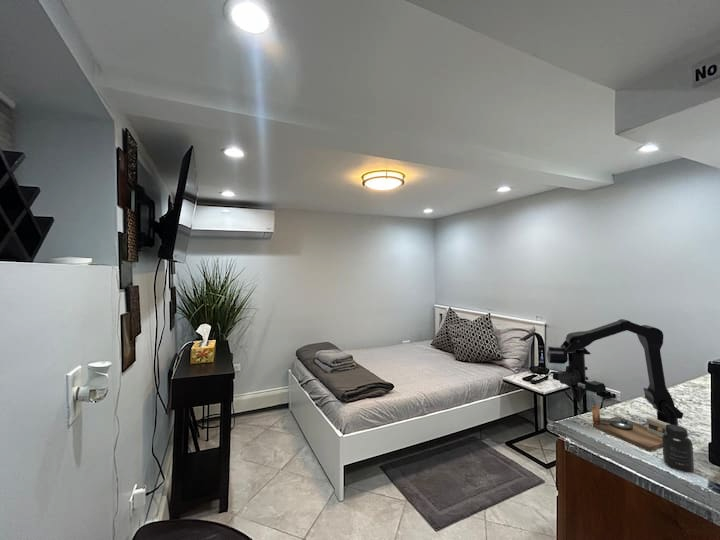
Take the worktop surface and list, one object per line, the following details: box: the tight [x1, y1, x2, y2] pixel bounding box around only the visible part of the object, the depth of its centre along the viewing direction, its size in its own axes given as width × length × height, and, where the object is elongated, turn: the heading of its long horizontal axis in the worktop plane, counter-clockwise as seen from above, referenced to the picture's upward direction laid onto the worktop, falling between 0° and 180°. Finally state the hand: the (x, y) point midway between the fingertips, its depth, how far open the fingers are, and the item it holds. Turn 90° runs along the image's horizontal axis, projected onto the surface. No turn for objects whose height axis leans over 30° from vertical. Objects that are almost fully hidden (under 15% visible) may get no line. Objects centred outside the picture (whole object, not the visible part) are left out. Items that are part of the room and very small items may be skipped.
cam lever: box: [591, 405, 633, 429], centre depth 123 cm, size 13×7×6 cm, turn 69°
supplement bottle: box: [662, 424, 695, 473], centre depth 99 cm, size 7×7×12 cm
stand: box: [592, 415, 669, 453], centre depth 119 cm, size 15×19×6 cm
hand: (578, 401), depth 130 cm, fingers closed
